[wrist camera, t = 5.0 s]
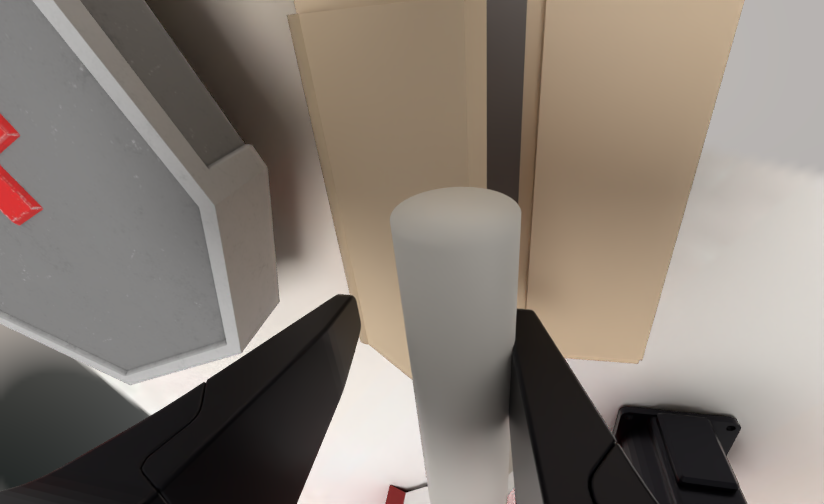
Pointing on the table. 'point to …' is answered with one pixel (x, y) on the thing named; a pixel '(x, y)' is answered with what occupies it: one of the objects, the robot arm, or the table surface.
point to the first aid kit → (124, 195)
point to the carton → (597, 150)
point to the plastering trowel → (422, 219)
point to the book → (408, 496)
